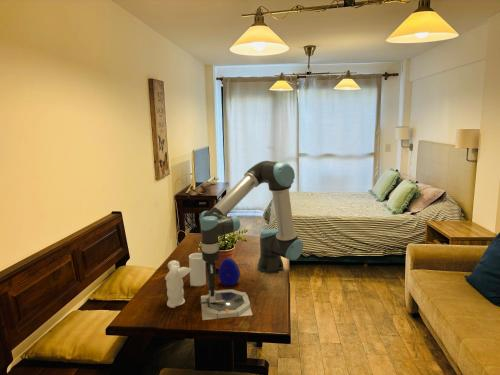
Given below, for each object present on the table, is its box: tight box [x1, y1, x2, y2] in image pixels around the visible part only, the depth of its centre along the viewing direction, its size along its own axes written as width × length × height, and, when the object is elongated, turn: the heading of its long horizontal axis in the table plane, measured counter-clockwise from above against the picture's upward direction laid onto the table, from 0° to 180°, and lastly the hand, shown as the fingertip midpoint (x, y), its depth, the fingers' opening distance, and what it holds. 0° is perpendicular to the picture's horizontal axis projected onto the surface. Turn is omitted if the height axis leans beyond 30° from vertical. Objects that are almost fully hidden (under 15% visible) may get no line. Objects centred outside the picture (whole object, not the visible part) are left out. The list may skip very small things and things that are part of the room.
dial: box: [207, 281, 243, 311], centre depth 168 cm, size 16×16×12 cm
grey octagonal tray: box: [199, 288, 253, 321], centre depth 169 cm, size 23×23×3 cm
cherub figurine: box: [164, 259, 191, 309], centre depth 171 cm, size 12×12×22 cm
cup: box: [188, 252, 207, 287], centre depth 191 cm, size 8×8×16 cm
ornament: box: [218, 257, 241, 287], centre depth 190 cm, size 11×9×15 cm
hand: (212, 298), depth 168 cm, fingers open, 6 cm apart
